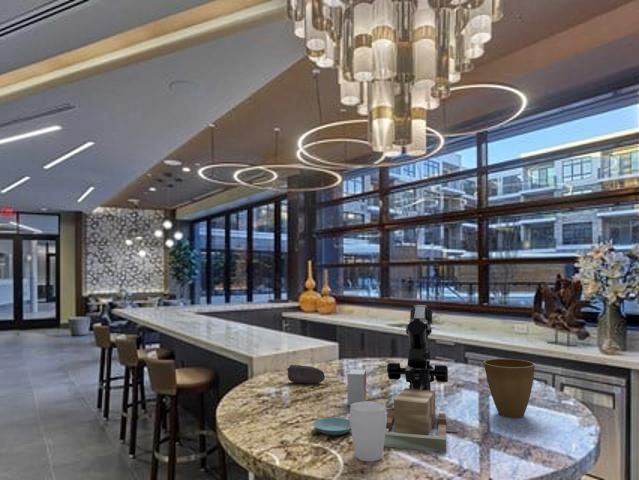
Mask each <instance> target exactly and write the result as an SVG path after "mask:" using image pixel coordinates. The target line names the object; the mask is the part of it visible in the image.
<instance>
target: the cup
mask: <svg viewBox="0 0 639 480" xmlns="http://www.w3.org/2000/svg"><path fill="white" fill-rule="evenodd" d="M349 406H350V405H349ZM349 408H350V411H349V420H350V424H351V430H350V432H351V435H352V436H351V437H352V444H353V450H354V451H353V452H354V456H355V458H356V459H357V460H360V461H362V462H363V461H364V462H369V463H370V462H371V463H372V462H377V461H380V460H381V459H382V458H383V454H384V440H385V431H386V423H387V406H386V404H384V403H381V402H378V401H377V402H376V401H372V400H371V401H367V400H366V401H363V402H356V403H353V404H351V406H350V407H349Z"/></svg>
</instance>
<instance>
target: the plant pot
mask: <svg viewBox="0 0 639 480" xmlns="http://www.w3.org/2000/svg"><path fill="white" fill-rule="evenodd" d="M483 365H484V371H485V375H486V380H487V381H486V382H487V385H488V388H489V390H490V391H489V392H490V394H491V397H492V400H493V403H494V406H495V408H496V411H497V412H498V413H497V414H498V415H500V416H502V417H505V418H510V419H511V418H512V419H513V418H514V419H515V418H516V419H518V418H523V417H524V416H525V413H526V411H527V407H528V405H529V401H530V398H531V394H532V388H533V383H534V376H535V365H536V364H535V363H534V362H532V361H528V360H523V359H517V358H516V359H515V358H514V359H513V358H492V359H490V358H489V359H486V360H484V361H483Z"/></svg>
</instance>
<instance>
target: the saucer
mask: <svg viewBox="0 0 639 480" xmlns="http://www.w3.org/2000/svg"><path fill="white" fill-rule="evenodd" d="M312 426H313V427H314V428H315V429H316V430H317V431H319V432H320V433H322V434H324V435H327V436H342V435H345V434H347V433H348V432H351V424H350V419H347V418H343V417H342V418H341V417H325V418H323V417H322V418H320V419H317V420H315V421H314V422H313V423H312Z"/></svg>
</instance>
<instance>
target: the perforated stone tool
mask: <svg viewBox="0 0 639 480" xmlns="http://www.w3.org/2000/svg"><path fill="white" fill-rule="evenodd" d="M325 375H326V374H325V373H324V371H322V370H321V369H320V368H317V367H314V366H311V365H298V364H291V365H289V366H288V368H287V378H288V380H289V381H290V382H291V383H296V384H297V383H298V384H319V383H322V382H324V380H325V378H326V376H325Z"/></svg>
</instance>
